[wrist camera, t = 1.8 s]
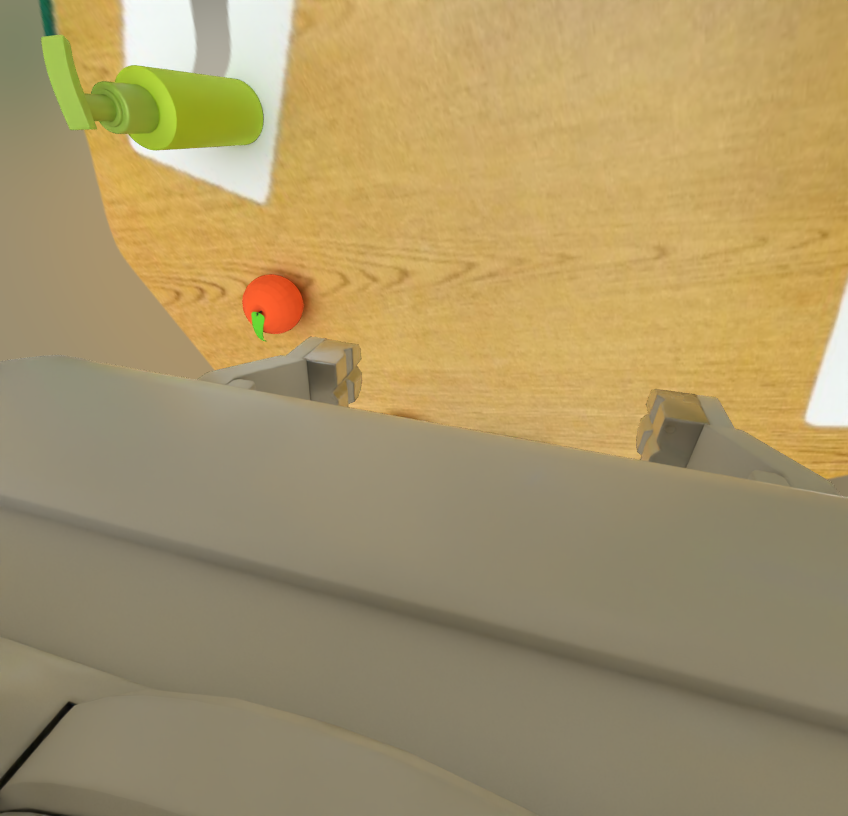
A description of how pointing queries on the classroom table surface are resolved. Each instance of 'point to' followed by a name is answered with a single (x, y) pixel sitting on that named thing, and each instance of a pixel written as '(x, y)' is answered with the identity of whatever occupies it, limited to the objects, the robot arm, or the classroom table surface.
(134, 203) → the classroom table surface
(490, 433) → the robot arm
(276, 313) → the clementine
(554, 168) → the classroom table surface
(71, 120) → the soap dispenser
